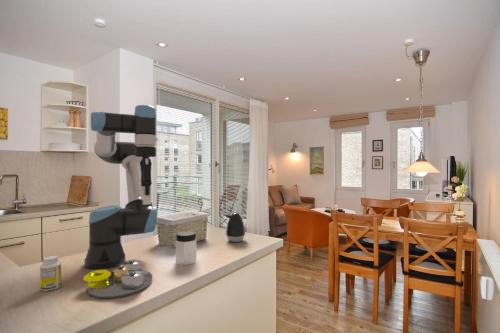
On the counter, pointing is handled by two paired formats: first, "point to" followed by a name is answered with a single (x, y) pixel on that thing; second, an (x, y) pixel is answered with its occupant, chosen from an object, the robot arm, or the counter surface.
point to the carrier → (123, 281)
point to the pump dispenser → (235, 228)
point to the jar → (186, 247)
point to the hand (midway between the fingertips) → (145, 202)
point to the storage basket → (181, 226)
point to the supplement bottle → (50, 273)
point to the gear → (97, 278)
